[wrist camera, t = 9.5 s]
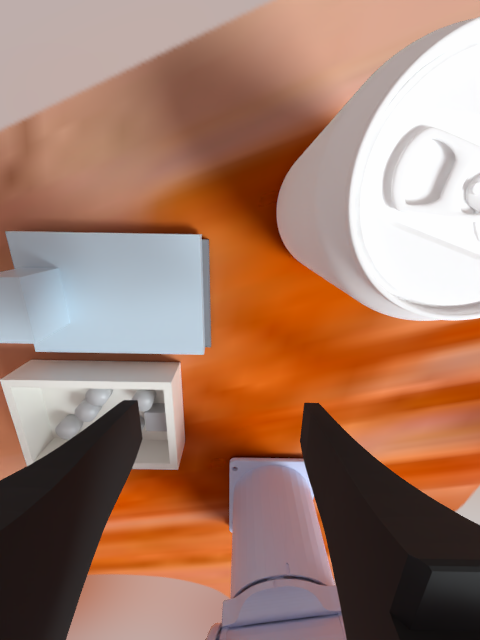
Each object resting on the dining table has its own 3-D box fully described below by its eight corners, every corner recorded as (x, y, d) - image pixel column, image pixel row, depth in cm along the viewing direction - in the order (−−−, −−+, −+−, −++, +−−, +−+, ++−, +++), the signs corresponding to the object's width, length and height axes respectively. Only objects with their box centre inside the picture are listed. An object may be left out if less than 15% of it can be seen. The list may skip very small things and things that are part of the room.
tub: (185, 441, 25) (178, 469, 22) (51, 439, 25) (27, 467, 22) (180, 362, 22) (171, 382, 19) (30, 359, 22) (-1, 379, 19)
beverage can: (370, 282, 20) (540, 360, 9) (261, 256, 19) (290, 303, 8) (419, 158, 17) (758, 32, 6) (295, 124, 17) (408, -86, 5)
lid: (205, 350, 21) (196, 379, 17) (42, 347, 21) (-4, 376, 17) (201, 234, 18) (190, 237, 14) (14, 231, 18) (-50, 233, 14)
